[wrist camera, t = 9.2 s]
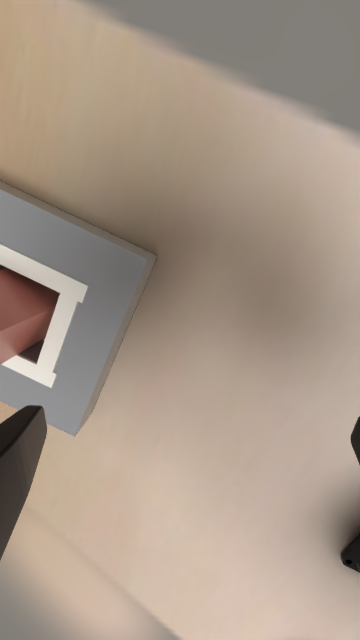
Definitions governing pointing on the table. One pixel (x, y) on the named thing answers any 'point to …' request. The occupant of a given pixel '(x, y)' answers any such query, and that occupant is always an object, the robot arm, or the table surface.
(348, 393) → the table surface
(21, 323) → the plug
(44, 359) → the socket plate
